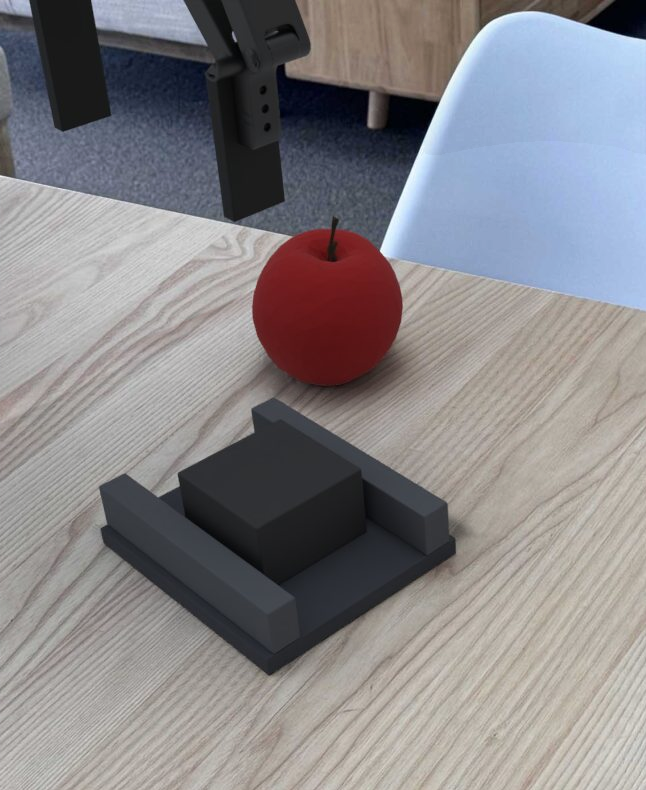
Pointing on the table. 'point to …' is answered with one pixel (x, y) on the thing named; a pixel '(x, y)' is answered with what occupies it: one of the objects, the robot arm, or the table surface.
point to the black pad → (276, 500)
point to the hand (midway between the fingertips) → (163, 163)
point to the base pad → (300, 592)
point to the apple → (327, 306)
